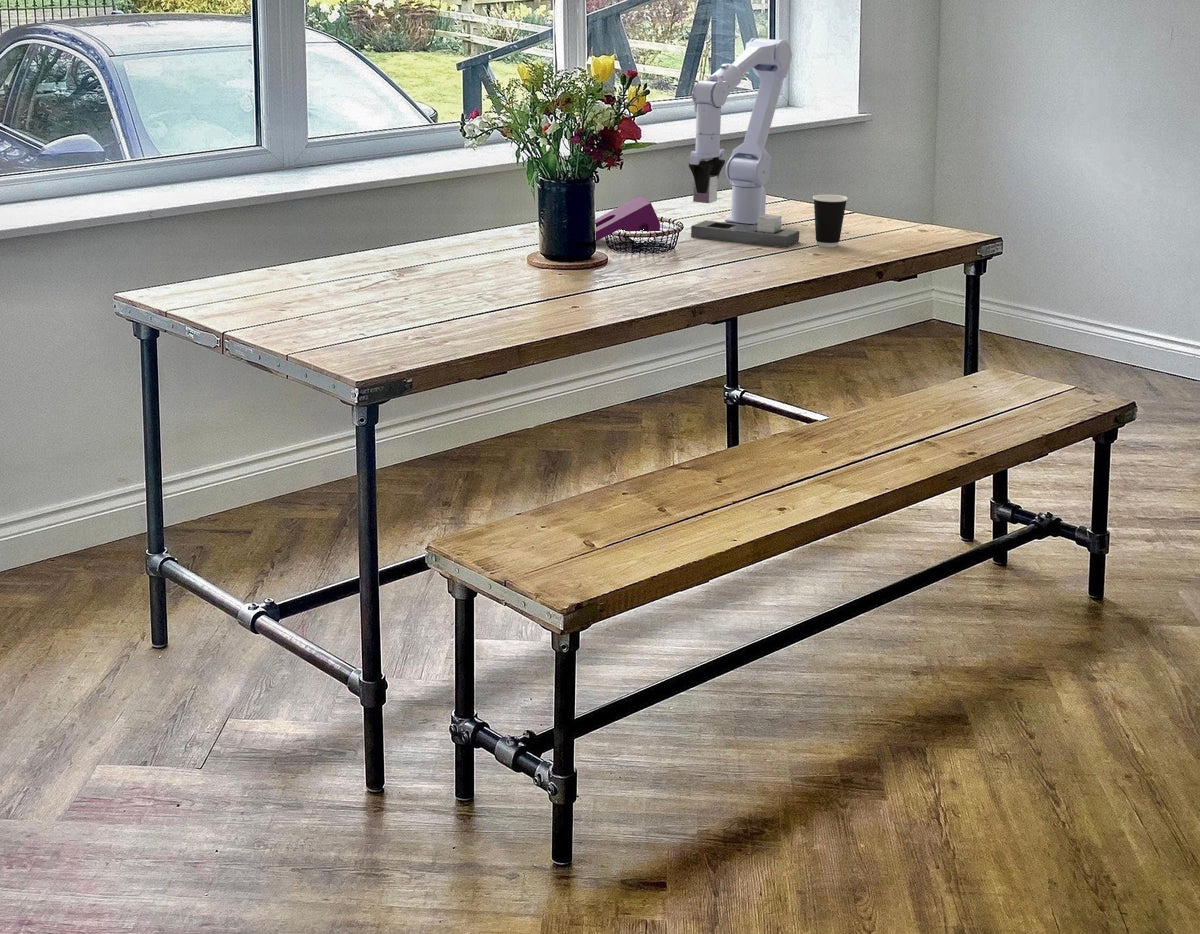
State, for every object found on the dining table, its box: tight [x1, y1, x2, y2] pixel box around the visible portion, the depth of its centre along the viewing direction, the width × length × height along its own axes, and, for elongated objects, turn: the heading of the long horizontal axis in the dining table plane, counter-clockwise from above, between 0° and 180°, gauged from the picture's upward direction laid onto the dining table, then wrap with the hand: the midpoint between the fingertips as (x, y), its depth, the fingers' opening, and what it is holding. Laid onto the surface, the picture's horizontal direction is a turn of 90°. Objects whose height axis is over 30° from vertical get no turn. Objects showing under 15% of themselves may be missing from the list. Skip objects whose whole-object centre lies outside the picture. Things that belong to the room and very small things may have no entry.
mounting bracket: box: [594, 195, 661, 242], centre depth 333 cm, size 9×8×18 cm
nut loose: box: [692, 175, 719, 204], centre depth 341 cm, size 4×4×6 cm
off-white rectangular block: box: [756, 213, 782, 234], centre depth 332 cm, size 4×4×6 cm
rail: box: [690, 219, 800, 248], centre depth 336 cm, size 8×24×3 cm, turn 61°
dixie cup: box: [812, 194, 849, 248], centre depth 329 cm, size 8×8×11 cm
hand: (705, 191), depth 342 cm, fingers closed on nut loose, 4 cm apart
